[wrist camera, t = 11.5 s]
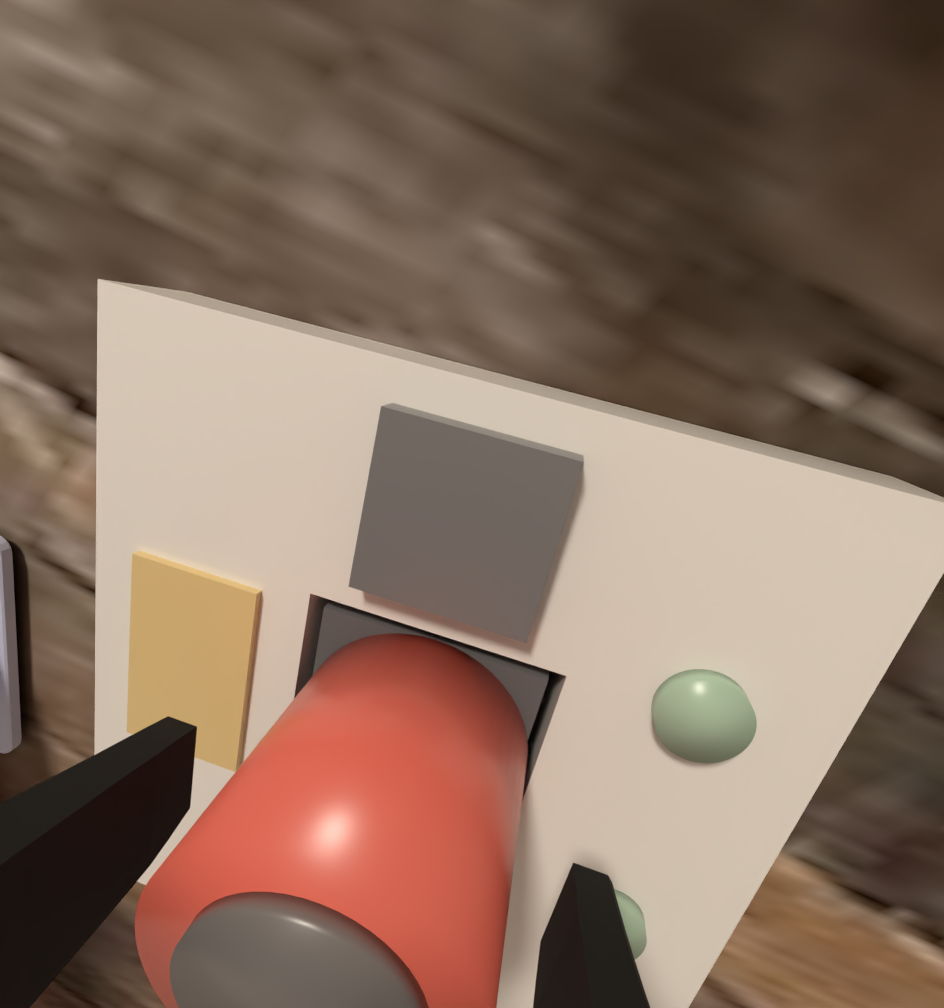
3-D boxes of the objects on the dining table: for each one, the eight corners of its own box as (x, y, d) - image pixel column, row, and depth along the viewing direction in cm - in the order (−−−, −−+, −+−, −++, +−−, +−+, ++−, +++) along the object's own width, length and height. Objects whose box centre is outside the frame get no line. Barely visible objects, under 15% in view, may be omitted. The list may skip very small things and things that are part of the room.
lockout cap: (292, 783, 13) (115, 1055, 8) (321, 603, 11) (119, 806, 6) (494, 857, 12) (438, 1199, 7) (556, 678, 11) (537, 968, 6)
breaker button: (336, 717, 15) (294, 781, 13) (365, 564, 14) (323, 607, 11) (503, 775, 15) (489, 853, 12) (553, 623, 13) (548, 680, 11)
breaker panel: (158, 794, 18) (75, 884, 15) (188, 292, 12) (69, 274, 10) (633, 975, 16) (645, 1117, 13) (891, 476, 11) (1008, 524, 8)
